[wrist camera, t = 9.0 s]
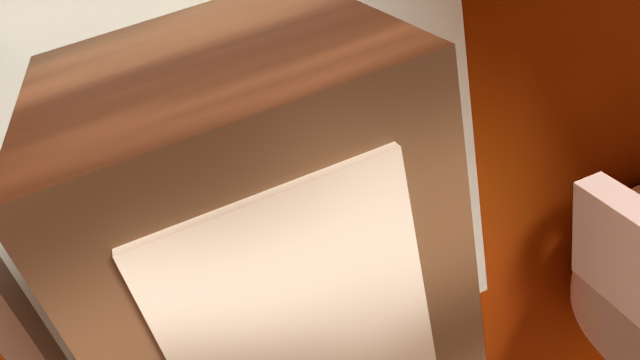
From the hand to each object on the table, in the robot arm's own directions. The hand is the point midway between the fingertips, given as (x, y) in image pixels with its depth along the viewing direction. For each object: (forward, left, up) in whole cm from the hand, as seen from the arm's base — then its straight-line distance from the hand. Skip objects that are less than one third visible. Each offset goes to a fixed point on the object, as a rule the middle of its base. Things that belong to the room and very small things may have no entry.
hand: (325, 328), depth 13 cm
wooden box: (0, 0, -8) cm, 8 cm away
